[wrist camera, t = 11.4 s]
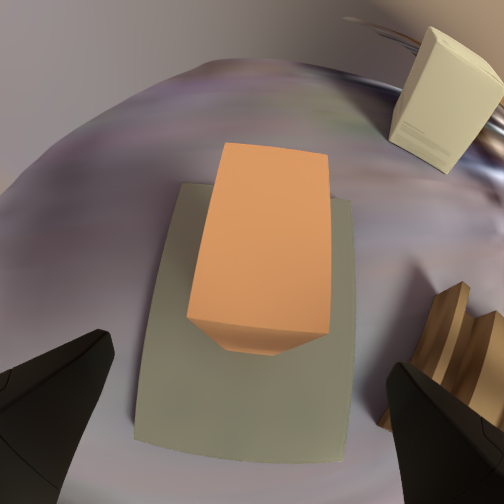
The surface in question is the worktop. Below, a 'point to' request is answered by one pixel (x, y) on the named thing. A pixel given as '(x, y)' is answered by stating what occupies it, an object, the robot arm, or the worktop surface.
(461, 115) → the supplement box
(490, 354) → the walnut rack
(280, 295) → the orange rectangular block
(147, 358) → the slate tile
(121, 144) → the worktop surface
